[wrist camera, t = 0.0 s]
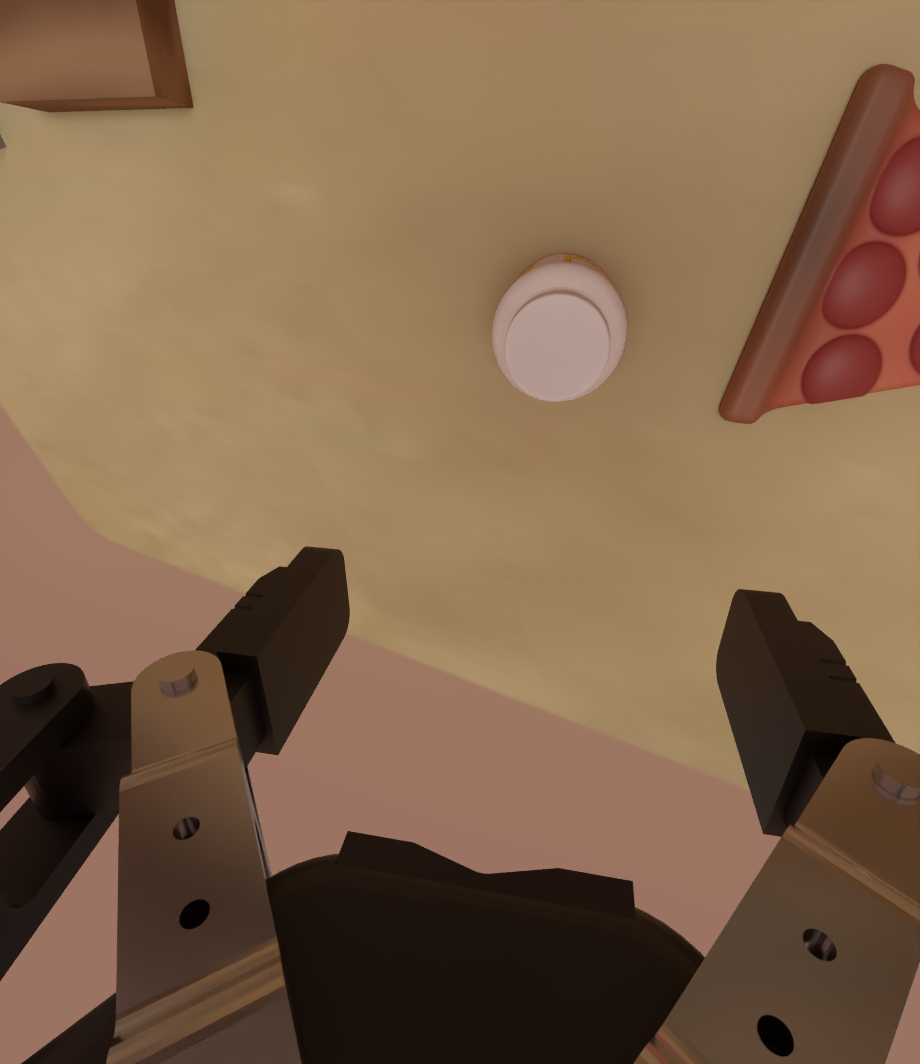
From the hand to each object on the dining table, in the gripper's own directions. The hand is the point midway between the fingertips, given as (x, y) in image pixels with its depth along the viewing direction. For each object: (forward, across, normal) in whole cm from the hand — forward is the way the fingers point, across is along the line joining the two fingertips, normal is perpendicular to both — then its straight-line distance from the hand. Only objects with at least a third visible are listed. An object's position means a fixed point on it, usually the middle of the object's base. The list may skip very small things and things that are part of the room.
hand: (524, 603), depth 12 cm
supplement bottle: (+30, 0, -2) cm, 30 cm away
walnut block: (+30, +28, -18) cm, 45 cm away
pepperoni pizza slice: (+30, -22, -3) cm, 37 cm away
